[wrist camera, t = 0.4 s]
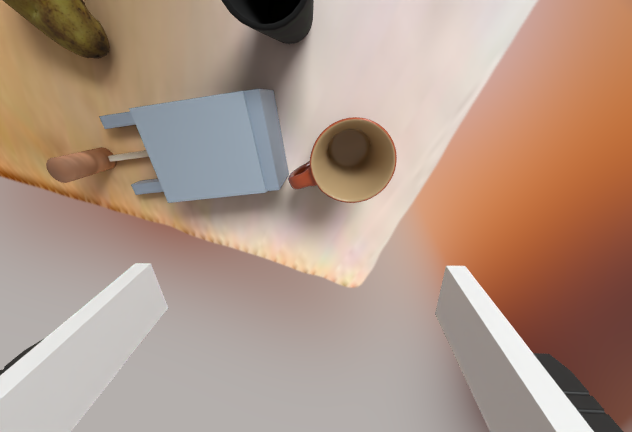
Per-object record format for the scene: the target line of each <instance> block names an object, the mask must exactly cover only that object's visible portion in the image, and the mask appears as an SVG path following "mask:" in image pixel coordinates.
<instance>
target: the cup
mask: <svg viewBox="0 0 632 432" xmlns="http://www.w3.org/2000/svg"><path fill="white" fill-rule="evenodd" d="M222 2H223V3H224V5H225V6H226V7H227V9H228V10H229V12H230V13H231V14H232V15H233V16H234V17H236V18H237V19H238V20H239V21H240V22H241V23H243V24H245V25H247V26H249V27H251V28H253V29H255V30H257V31H259V32H261V33H263V34H266V35H268V36H270V37H272V38H274V39H276V40H278V41H281V42H283V43H287V44H294V43H297V42H299V41H301V40H302V39H303V38H304V37H305V36H306V35H307V34H308V32H309V30H310V28H311V25H312V21H313V0H222Z"/></svg>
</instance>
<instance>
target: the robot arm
mask: <svg viewBox="0 0 632 432" xmlns="http://www.w3.org/2000/svg"><path fill="white" fill-rule="evenodd" d="M167 309H168V306H167V303H166V301H165V298H164V296H163V293H162V291H161V288H160V285H159V283H158V280H157V278H156V276H155V273H154V270H153V268H152V265H151V264H150V263H149V264H145V263H143V264H142V263H140V264H139V263H136V264H134V265H133V266H131V267H130V268H129V269H128V270H127V271H125V272H124V273H123V274H122V275H121V276H120V277H118V278H117V279H116V280H115V281H114V282H112V283H111V284H110V285H109V286H107V287H106V288H105V289H104V290H103V291H101V292H100V293H99V294H98V295H97V296H95V297H94V298H93V299H92V300H91V301H89V302H88V303H87V304H86V305H85V306H84V307H82V308H81V309H80V310H79V311H77V312H76V313H75V314H74V315H73V316H71V317H70V318H69V319H68V320H66V322H64V323H63V324H62V325H61V326H59V327H58V328H57V329H56V330H54V331H53V332H52V333H51V334H50V335H48V337H46V338H45V339H43V340H41V341H39V342H38V343H36V344H34V345H33V346H31V347H29V348H28V349H26V350H25V351H23V352H22V353H21V354H19V355H18V356H17V357H16V358H15V359H13V360H12V361H11V362H10V363H8V364H7V365H6V366H5V368H4V369H3V370H0V432H71V431H72V430H73V428H74V427H75V426H76V424H77V423H78V422H79V421H80V419H81V418H82V417H83V416H84V414H85V413H86V412H87V410H88V409H89V408H90V407H91V405H92V404H93V403H94V402H95V400H96V399H97V398H98V397H99V395H100V394H101V393H102V392H103V390H104V389H105V388H106V386H107V385H108V384H109V383H110V381H111V380H112V379H113V378H114V376H115V375H116V374H117V372H118V371H119V370H120V368H121V367H122V366H123V365H124V364H125V362H126V361H127V360H128V359H129V357H130V356H131V355H132V353H133V352H134V351H135V350H136V348H137V347H138V346H139V345H140V343H141V342H142V341H143V340H144V338H145V337H146V336H147V334H148V333H149V332H150V331H151V329H152V328H153V327H154V326H155V324H156V323H157V322H158V321H159V319H160V318H161V317H162V315H163V314H164V313H165V312H166V310H167ZM435 315H436V317H437V319H438V321H439V323H440V325H441V327H442V330H443V332H444V334H445V336H446V338H447V340H448V343H449V345H450V347H451V349H452V351H453V353H454V355H455V358H456V360H457V362H458V364H459V366H460V368H461V370H462V373H463V374H464V377H465V379H466V381H467V383H468V385H469V387H470V390H471V392H472V394H473V396H474V398H475V400H476V403H477V405H478V407H479V409H480V411H481V413H482V415H483V418H484V420H485V422H486V424H487V426H488V428H489V430H490V432H623V431H622V430H621V429H620V427H619V426H618V425H617V424H616V423H615V422H614V420H613V419H612V418H611V417H610V416H609V415H607V414H606V413H605V412H604V409H603V408H602V407H601V406H600V404H599V403H598V402H597V401H596V400H595V399H594V397H593V396H590V395H589V392H588V390H587V389H586V388H585V387H584V386H583V385H582V384H581V382H580V381H579V380H578V379H577V378H576V377H575V375H574V374H573V373H572V372H571V371H570V370H569V369H567V368H566V367H565V366H564V365H562V364H561V363H560V362H559V361H557V360H556V359H555V358H553V357H552V356H551V355H550V354H533V353H532V351H531V350H530V349H529V348H528V346H527V345H526V344H525V343H524V341H523V340H522V339H521V337H520V336H519V335H518V333H517V332H516V331H515V330H514V328H513V327H512V326H511V324H510V323H509V322H508V321H507V319H506V318H505V317H504V315H503V314H502V313H501V312H500V310H499V309H498V308H497V307H496V305H495V304H494V303H493V301H492V300H491V299H490V297H489V296H488V295H487V294H486V292H485V291H484V290H483V288H482V287H481V286H480V285H479V284H478V282H477V281H476V279H475V278H474V277H473V276H472V274H471V273H470V272H469V271H468V269H467V268H466V267H465V266H446V269H445V273H444V277H443V282H442V286H441V290H440V295H439V299H438V304H437V308H436V312H435Z"/></svg>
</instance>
